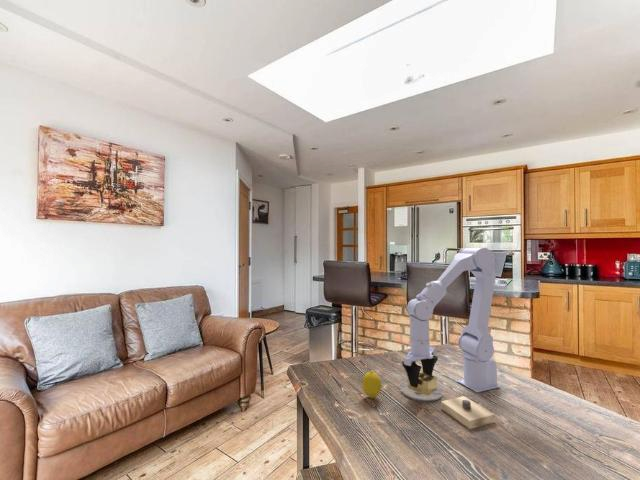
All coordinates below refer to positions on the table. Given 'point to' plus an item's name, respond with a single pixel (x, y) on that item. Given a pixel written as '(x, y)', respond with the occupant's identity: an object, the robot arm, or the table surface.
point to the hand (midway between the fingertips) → (420, 382)
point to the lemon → (371, 384)
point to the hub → (420, 396)
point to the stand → (467, 412)
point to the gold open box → (425, 384)
